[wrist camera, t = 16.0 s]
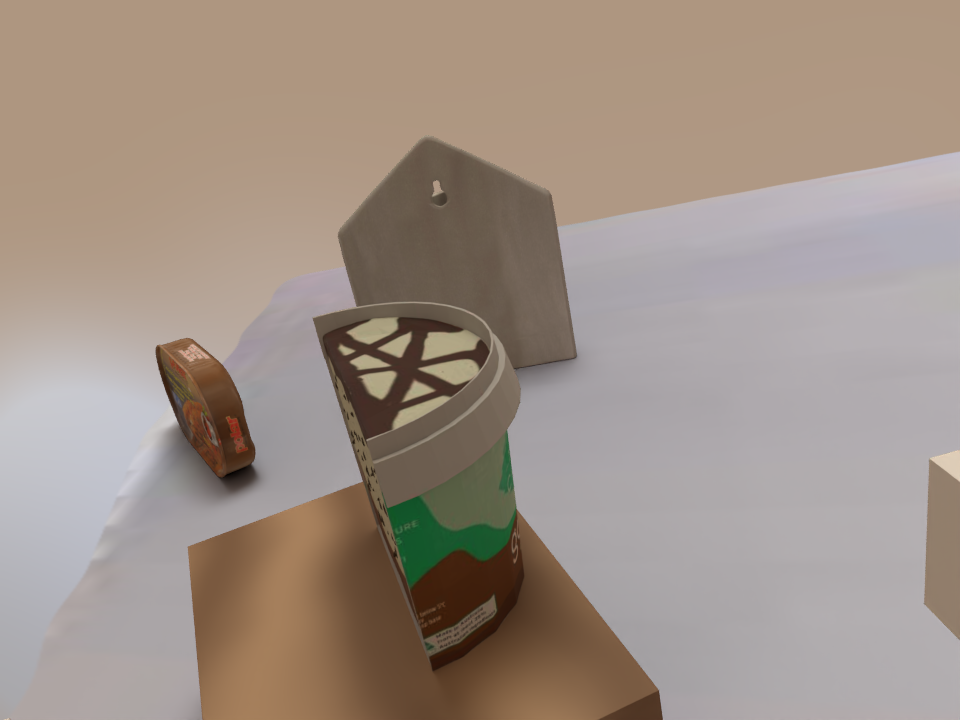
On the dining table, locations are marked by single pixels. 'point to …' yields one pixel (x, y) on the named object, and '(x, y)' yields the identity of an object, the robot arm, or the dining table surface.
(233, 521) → the dining table surface
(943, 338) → the dining table surface
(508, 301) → the planter
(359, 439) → the food container
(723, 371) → the dining table surface
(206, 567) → the walnut shelf
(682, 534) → the dining table surface
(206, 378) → the tin
